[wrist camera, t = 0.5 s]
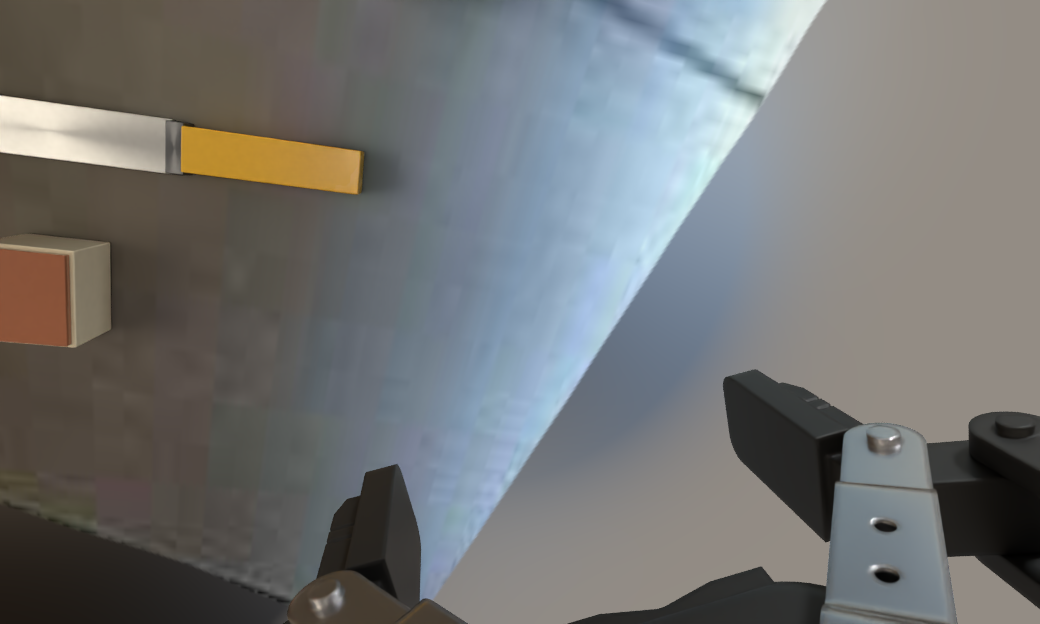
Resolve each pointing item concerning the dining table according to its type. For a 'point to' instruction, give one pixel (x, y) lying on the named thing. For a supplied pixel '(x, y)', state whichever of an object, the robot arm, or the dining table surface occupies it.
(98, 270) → the salt cellar
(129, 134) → the knife
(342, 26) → the dining table surface
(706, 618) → the robot arm
